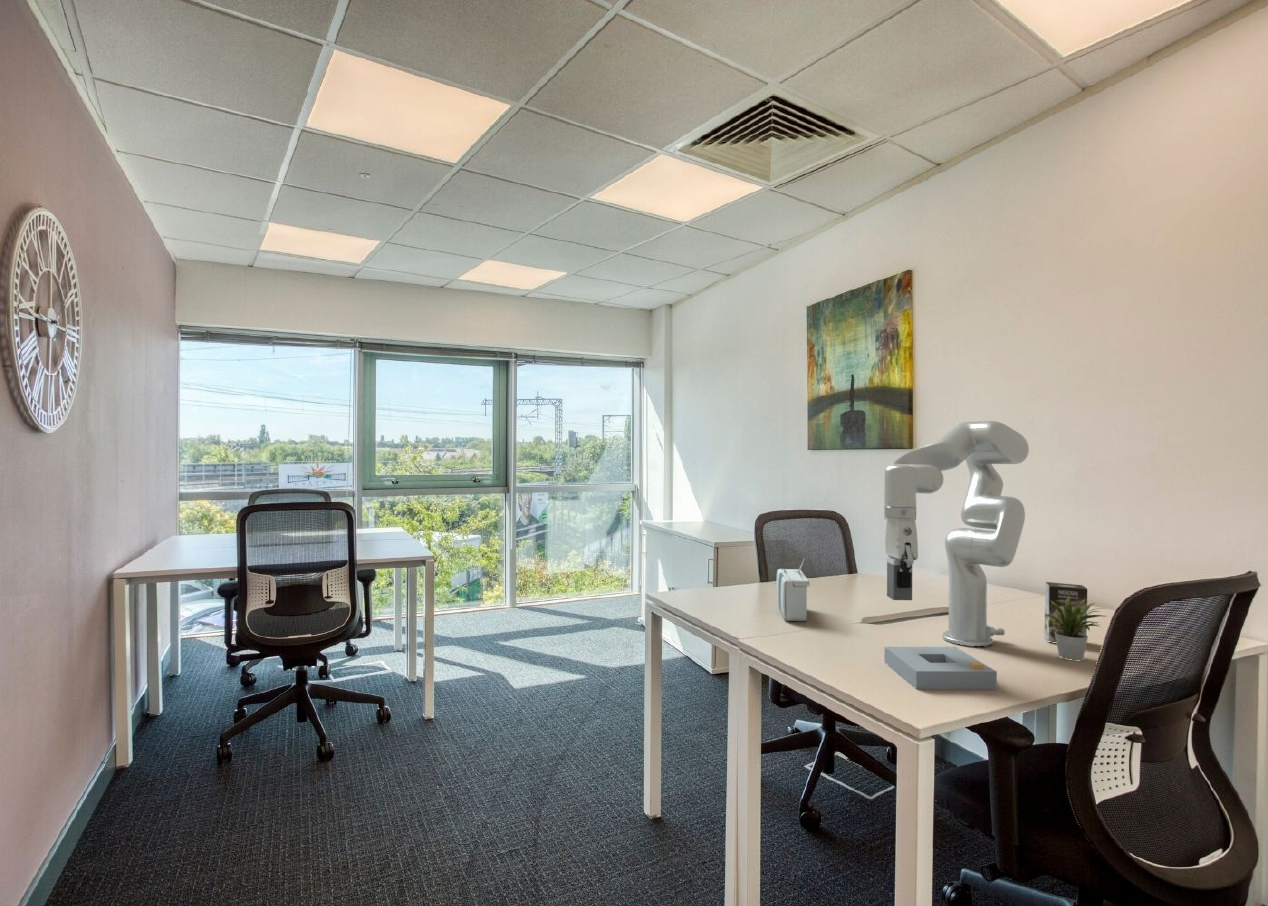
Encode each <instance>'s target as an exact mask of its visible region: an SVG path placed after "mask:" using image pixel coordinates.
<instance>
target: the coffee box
mask: <svg viewBox="0 0 1268 906" xmlns="http://www.w3.org/2000/svg"><path fill="white" fill-rule="evenodd" d="M1068 594H1069V597H1070V601H1071V604H1072V612H1073V611H1074V609H1075V608H1076V606H1077V605H1078V604H1079V603H1080V602H1081V601H1082V600H1084V599H1085V598H1086V599H1085V601H1084V602H1083V604H1082V605H1081V607H1080V608H1082V609H1083V608H1085V607H1086V606H1087V605H1088V588H1087V587H1086V586H1084V585H1082V584H1072V583H1062V582H1051V581H1045V595H1044V597H1045V598H1044V599H1045V600H1044V635H1045V637H1046V639H1047V640H1048V641H1051V642H1056V637H1055V631H1058V630H1062V628H1061V627H1060V626H1053V625H1054V624H1053V621H1056V620H1054V619H1053V618H1051V617H1048V616H1046V614H1050V615H1053V616H1055V617H1056V618H1057V619H1059V620H1060V622H1061V623H1062V621H1061V620H1062V619H1060V618H1061V616H1060V614H1059V612H1058V610H1057V609H1056V608H1055V606H1053V605H1052V603H1051V601H1053V602H1054V603H1055V604H1057V606H1058V607H1059V608H1060V609H1061V610H1062V611H1063V614H1064V616H1065V613H1064V611H1065V609H1064V607H1063V605H1064V606H1065V602H1066V599H1067V598H1068ZM1050 600H1051V601H1050ZM1056 600H1057V601H1056ZM1059 601H1060V602H1061V603H1063V605H1062V604H1061V603H1060V602H1059ZM1048 604H1049V605H1050V606H1049V605H1048ZM1052 608H1053V609H1054V610H1055V611H1056V612H1057V613H1058V614H1057V613H1056V612H1055V611H1054V610H1053V609H1052ZM1082 609H1081V610H1082ZM1087 611H1088V610H1087ZM1087 611H1086V612H1087ZM1086 612H1085V614H1084V615H1082V616H1086V615H1087V614H1088V612H1087V613H1086ZM1058 615H1059V616H1060V617H1059V616H1058ZM1082 616H1081V617H1082ZM1086 621H1088V619H1085V620H1083V621H1082V623H1083V622H1086ZM1056 622H1057V621H1056ZM1082 623H1081V624H1082ZM1052 624H1053V625H1052ZM1087 624H1088V623H1086V624H1084V625H1087ZM1055 625H1060V624H1055ZM1084 628H1085V627H1084ZM1084 628H1082V629H1084ZM1082 629H1081V630H1082ZM1081 630H1079V631H1078V632H1080V631H1081ZM1087 630H1088V629H1087V628H1085V629H1084V630H1082V631H1081V632H1080V633H1083V634H1085V635H1087V636H1088V634H1087ZM1045 637H1044V638H1045ZM1046 639H1045V640H1046ZM1047 640H1046V641H1047Z"/></svg>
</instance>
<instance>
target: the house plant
mask: <svg viewBox="0 0 1268 906" xmlns="http://www.w3.org/2000/svg"><path fill="white" fill-rule="evenodd" d="M1085 599H1086V598H1085ZM1085 599H1084V600H1082V601H1081V602H1080V603H1079V604H1078V605H1077V606H1076V608H1075V609H1074V611H1073V612H1072V604H1071V601H1070V597H1069V594H1068V598H1067V599H1066V602H1065V606H1064V605H1063V603H1061V602H1060V601H1059V602H1060V603H1061V604H1062V605H1063V607H1064V609H1065V611H1064V613H1065V616H1064V614H1063V611H1062V610H1061V609H1060V608H1059V607H1058V606H1057V604H1055V603H1054V602H1053V601H1051V600H1050V601H1051V603H1052V605H1053V606H1055V608H1056V609H1057V610H1058V612H1059V614H1060V616H1061V618H1060V619H1062V620H1061V621H1062V623H1061V622H1060V620H1059V619H1057V618H1056V617H1055V616H1053V615H1050V614H1046V616H1048V617H1051V618H1053V619H1054V620H1056V621H1057V622H1056V621H1053V624H1054V625H1053V624H1052V625H1053V626H1060V627H1061V628H1062V630H1058V631H1055V637H1056V642H1057V643H1056V646H1057V652H1058V657H1059V656H1061V657H1063V658H1067V659H1072V660H1082V659H1083V660H1084V657H1085V652H1086V648H1087V641H1088V634H1087V635H1085V634H1083V633H1080V632H1081V631H1082V630H1084V629H1085V628H1087V630H1088V631H1089V632H1091V630H1090V627H1093V626H1094V627H1098V628H1100V624H1098V621H1090V620H1088V619H1092V618H1096V617H1097V618H1098V617H1106V615H1101V614H1092V613H1095V612H1096V613H1097V612H1099V613H1100V612H1101V611H1099V610H1106V608H1103V607H1101V608H1097V610H1096V608H1092V609H1090V608H1091V607H1092V606H1094V605H1095V604H1096V602H1095V603H1089V604H1087V606H1086V607H1085V608H1083V609H1082V608H1080V607H1081V605H1082V604H1083V602H1084V601H1085ZM1056 601H1057V600H1056ZM1048 605H1049V604H1048ZM1049 606H1050V605H1049ZM1052 609H1053V608H1052ZM1081 609H1082V610H1081ZM1089 609H1090V610H1089ZM1053 610H1054V609H1053ZM1054 611H1055V610H1054ZM1086 611H1087V612H1086ZM1055 612H1056V611H1055ZM1085 612H1086V613H1087V615H1086V616H1082V615H1084V614H1085ZM1056 613H1057V612H1056ZM1057 614H1058V613H1057ZM1058 616H1059V615H1058ZM1060 616H1059V617H1060ZM1081 616H1082V617H1081ZM1085 619H1087V621H1086V622H1083V623H1082V621H1083V620H1085ZM1081 623H1082V624H1081ZM1086 623H1087V625H1084V624H1086ZM1055 624H1060V625H1055ZM1084 627H1085V628H1084ZM1082 628H1084V629H1082ZM1081 629H1082V630H1081ZM1079 630H1081V631H1080V632H1078V631H1079Z"/></svg>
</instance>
